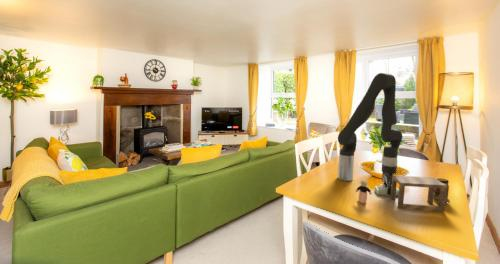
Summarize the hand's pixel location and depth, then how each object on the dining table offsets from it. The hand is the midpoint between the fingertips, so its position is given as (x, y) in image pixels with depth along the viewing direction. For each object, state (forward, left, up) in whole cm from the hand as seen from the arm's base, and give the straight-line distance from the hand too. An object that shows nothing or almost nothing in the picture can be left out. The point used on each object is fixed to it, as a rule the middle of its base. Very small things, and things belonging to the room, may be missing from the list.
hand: (387, 192), depth 143 cm
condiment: (+25, -5, -1) cm, 26 cm away
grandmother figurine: (-17, -16, -1) cm, 23 cm away
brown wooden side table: (+9, -14, -1) cm, 17 cm away
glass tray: (0, 0, -1) cm, 1 cm away
